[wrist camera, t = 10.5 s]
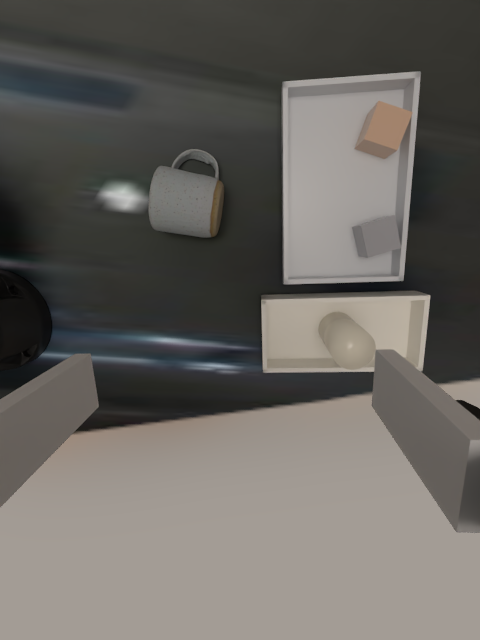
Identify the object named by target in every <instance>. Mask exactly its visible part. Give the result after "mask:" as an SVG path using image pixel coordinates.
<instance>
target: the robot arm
mask: <svg viewBox="0 0 480 640" xmlns="http://www.w3.org/2000/svg"><path fill="white" fill-rule="evenodd" d="M50 336H51V317H50V313H49V310H48V307H47V305H46V303H45V301H44V299H43V298H42V296H41V295H40V293H39V292H38V291H37V290H36V288H35V287H34V286H33V285H32V284H30V283H29V282H28V281H27V280H25V279H24V278H22V277H21V276H19V275H17V274H15V273H12V272H9V271H5V270H0V371H2V370H10V369H14V368H18V367H20V366H23V365H25V364H27V363H29V362H30V361H32V360H34V359H36V358H37V357H38V356H39V355H40V354H41V353H42V352H43V351H44V350H45V348H46V347H47V345H48V342H49V340H50ZM98 407H99V404H98V398H97V391H96V385H95V379H94V372H93V366H92V360H91V354H74V355H72V356H71V357H69V358H68V359H66V360H64V361H63V362H61V363H59V364H58V365H56V366H54V367H53V368H51V369H49V370H48V371H46V372H45V373H43V374H41V375H40V376H38V377H36V378H35V379H33V380H31V381H30V382H28V383H26V384H25V385H23V386H22V387H20V388H18V389H17V390H15V391H13V392H12V393H10V394H8V395H7V396H5V397H3V398H2V399H0V507H1V506H2V505H3V504H4V503H5V502H6V501H7V500H8V499H9V498H10V497H11V496H12V495H13V494H14V493H15V492H16V491H17V490H18V489H19V488H20V487H21V486H22V485H23V484H24V482H26V480H27V479H28V478H29V477H30V476H31V475H32V474H33V473H34V472H35V471H36V470H37V469H38V468H39V467H40V466H41V465H42V464H43V463H44V462H45V461H46V460H47V459H48V458H49V457H50V456H51V455H52V454H53V453H54V452H55V451H56V450H57V449H58V448H59V447H60V446H61V445H62V443H64V442H65V441H66V440H67V439H68V438H69V437H70V435H72V434H73V432H74V431H75V430H76V429H77V428H78V427H79V426H80V425H81V424H82V423H83V422H84V421H85V420H86V419H87V418H88V417H89V416H90V415H91V414H92V413H93V412H94V411H95V410H96V409H97V408H98ZM372 407H373V408H374V410H375V411H376V413H377V414H378V416H379V417H380V419H381V420H382V422H383V423H384V425H385V426H386V428H387V429H388V431H389V432H390V434H391V435H392V437H393V438H394V440H395V441H396V443H397V444H398V446H399V447H400V449H401V450H402V452H403V453H404V454H405V456H406V458H407V459H408V461H409V462H410V464H411V465H412V467H413V468H414V469H415V471H416V473H417V474H418V476H419V477H420V478H421V480H422V482H423V483H424V484H425V486H426V488H427V489H428V490H429V492H430V493H431V495H432V496H433V498H434V499H435V501H436V502H437V504H438V505H439V507H440V508H441V510H442V511H443V513H444V514H445V516H446V517H447V519H448V520H449V522H450V523H451V525H452V526H453V528H454V529H455V531H456V532H468V533H469V532H470V533H480V409H479V408H478V407H476V406H473V405H471V404H469V403H467V402H465V401H462V400H454V399H453V398H452V397H451V396H450V395H448V394H447V393H446V392H445V391H443V390H442V389H441V388H440V387H439V386H437V385H436V384H435V383H434V382H433V381H431V380H430V379H429V378H428V377H426V376H425V375H424V374H423V373H422V372H420V371H419V370H418V369H417V368H416V367H414V366H413V365H412V364H411V363H409V362H408V361H407V360H406V359H405V358H403V357H402V356H401V355H400V354H399V353H397V352H396V351H395V350H394V349H383V350H376V352H375V367H374V382H373V397H372Z"/></svg>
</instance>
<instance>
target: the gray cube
mask: <svg viewBox="0 0 480 640" xmlns="http://www.w3.org/2000/svg"><path fill="white" fill-rule="evenodd" d="M352 230H353V234H354V239H355V243H356V248H357V252H358V256H360V257H366V258H369V257H372V256H375V255H379V254H382V253H386V252H389V251H392V250H396V249H399V248H401V245H400V240H399V234H398V229H397V224H396V219H395V215H391V216H386V217H382V218H378V219H375V220H372V221H369V222H366V223H362V224H359V225H356V226H353V227H352Z"/></svg>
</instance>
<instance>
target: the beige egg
mask: <svg viewBox="0 0 480 640" xmlns="http://www.w3.org/2000/svg"><path fill="white" fill-rule="evenodd" d="M318 332H319V335H320V338H321V339H322V341H323V342H324V344H325V346H326V347H327V349H328V351H329V352H330V354H331V356H332V357H333V359H334V361H335V362H336V363H337V364H338V365H339V366H341V367H343V368H345V369H350V370H354V369H359V368H362V367H364V366H366V365H367V364H368V363H369V362H370V361H371V360H372V359H373V357H374V355H375V350H376V345H375V341H374V339H373V337H372V336H371V335H370V334H369V333H368V332H367V331H365V330H364V329H363V328H362V327H361V326H360V325H358V324H357V323H356V322H355V321H354V320H353V319H352V318H350V317H349V316H348V315H347V314H345V313H342V312H332V313H329V314H327V315H326V316H325V317H324V318H323V319H322V320H321V322H320V324H319V328H318Z"/></svg>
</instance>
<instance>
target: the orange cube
mask: <svg viewBox="0 0 480 640" xmlns="http://www.w3.org/2000/svg"><path fill="white" fill-rule="evenodd" d="M412 113H413V112H411V111H408V110H405V109H402V108H399V107H396V106H393V105H390V104H387V103H384V102H381V101H378V102H377V103H376V104H375V106H374V107H373V108H372V109H371V110H370V112H369V113H368V114H367V116H366V119H365V121H364V124H363V127H362V129H361V132H360V135H359V137H358V140H357V143H356V146H355V148H354V149H356V150H359V151H362V152H365V153H368V154H371V155H374V156H377V157H380V158H383V159H385V158H387V157H388V156H390V155H391V154H393V153H394V152H396V151H397V150H398V148H399V145H400V143H401V140H402V138H403V136H404V133H405V131H406V128H407V126H408V123H409V121H410V118H411V116H412Z"/></svg>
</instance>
